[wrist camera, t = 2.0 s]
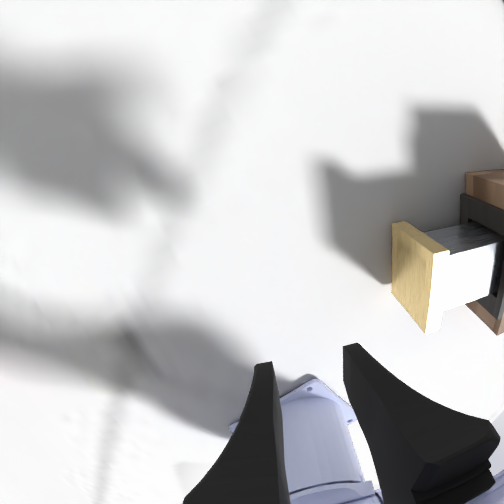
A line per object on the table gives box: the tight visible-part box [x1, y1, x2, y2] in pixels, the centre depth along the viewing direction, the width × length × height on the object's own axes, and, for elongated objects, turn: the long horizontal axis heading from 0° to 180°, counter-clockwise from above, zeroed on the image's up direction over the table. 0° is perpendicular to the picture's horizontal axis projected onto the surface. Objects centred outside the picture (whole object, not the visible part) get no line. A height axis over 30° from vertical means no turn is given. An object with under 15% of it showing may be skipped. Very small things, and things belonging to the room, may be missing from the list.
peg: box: [392, 221, 504, 334], centre depth 17 cm, size 8×5×5 cm, turn 101°
